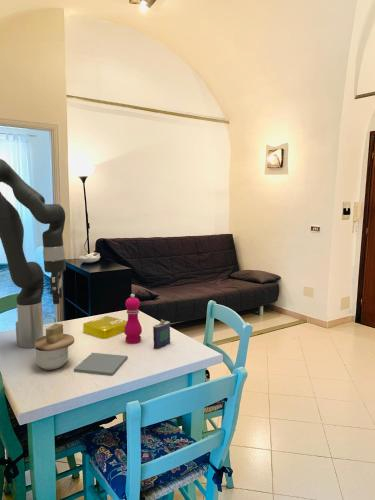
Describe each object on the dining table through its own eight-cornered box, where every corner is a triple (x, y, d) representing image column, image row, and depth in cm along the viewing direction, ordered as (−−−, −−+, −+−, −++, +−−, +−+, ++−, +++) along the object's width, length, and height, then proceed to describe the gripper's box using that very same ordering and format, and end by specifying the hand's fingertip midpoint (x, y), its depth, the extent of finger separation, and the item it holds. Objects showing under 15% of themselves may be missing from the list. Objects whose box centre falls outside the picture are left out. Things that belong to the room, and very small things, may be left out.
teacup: (49, 375, 123) (48, 352, 122) (29, 368, 129) (27, 346, 128) (81, 360, 135) (81, 339, 134) (61, 354, 141) (60, 333, 140)
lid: (27, 348, 126) (26, 331, 125) (48, 335, 139) (48, 319, 138) (62, 351, 124) (61, 334, 123) (80, 337, 136) (80, 322, 135)
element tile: (107, 324, 177) (106, 314, 176) (129, 330, 168) (129, 320, 168) (81, 333, 165) (81, 322, 164) (104, 340, 156) (104, 329, 155)
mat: (73, 371, 127) (73, 368, 126) (92, 355, 140) (92, 352, 140) (112, 375, 124) (112, 372, 124) (127, 358, 137) (127, 355, 137)
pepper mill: (121, 342, 153) (120, 295, 150) (130, 336, 159) (129, 291, 157) (136, 345, 150) (135, 296, 147) (145, 339, 157) (144, 292, 154)
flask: (166, 341, 155) (166, 316, 153) (172, 342, 153) (172, 317, 151) (151, 348, 147) (151, 322, 146) (157, 350, 146) (157, 323, 144)
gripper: (46, 256, 144) (50, 297, 146) (40, 262, 130) (44, 307, 133) (66, 255, 146) (69, 295, 148) (62, 260, 132) (66, 305, 134)
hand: (57, 300), depth 140 cm, fingers open, 8 cm apart
